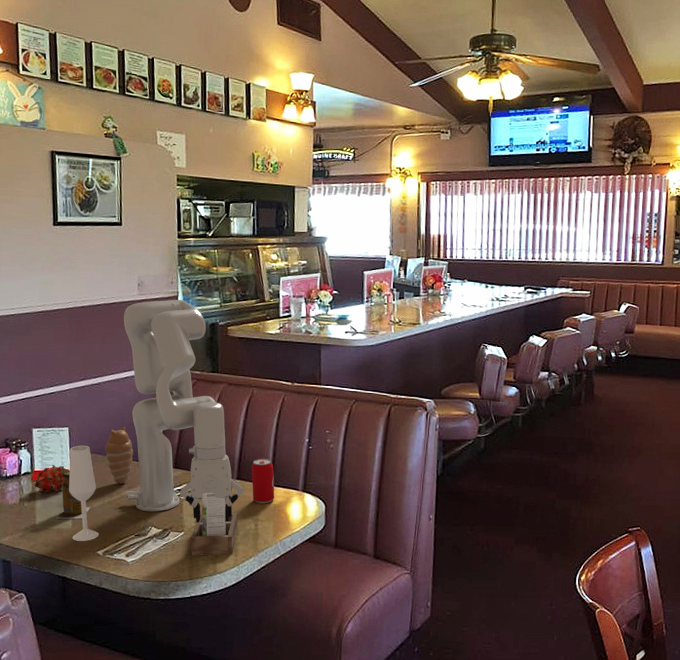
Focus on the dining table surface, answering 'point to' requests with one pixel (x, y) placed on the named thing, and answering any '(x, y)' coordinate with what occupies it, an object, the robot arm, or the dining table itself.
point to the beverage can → (263, 481)
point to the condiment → (69, 501)
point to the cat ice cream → (119, 455)
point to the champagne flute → (82, 485)
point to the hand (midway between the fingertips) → (213, 519)
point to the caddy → (214, 539)
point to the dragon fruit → (50, 479)
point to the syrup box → (213, 515)
